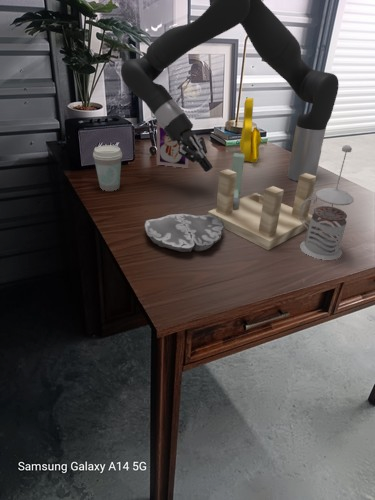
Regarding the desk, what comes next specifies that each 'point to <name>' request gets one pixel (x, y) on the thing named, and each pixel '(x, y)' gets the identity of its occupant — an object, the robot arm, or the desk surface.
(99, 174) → the coffee cup
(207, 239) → the brain slice
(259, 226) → the stool seat
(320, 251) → the french press
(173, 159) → the greeting card
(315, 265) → the desk surface
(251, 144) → the figure statuette
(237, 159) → the hinged leg
